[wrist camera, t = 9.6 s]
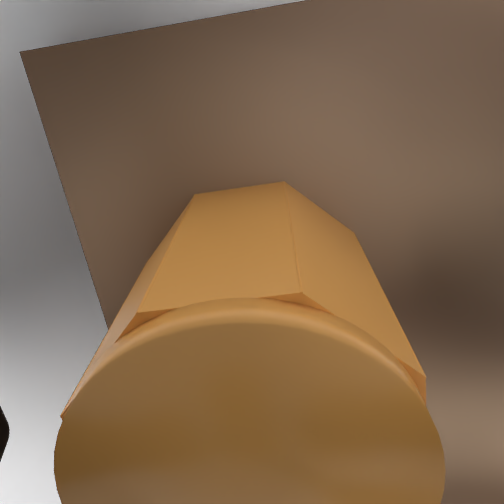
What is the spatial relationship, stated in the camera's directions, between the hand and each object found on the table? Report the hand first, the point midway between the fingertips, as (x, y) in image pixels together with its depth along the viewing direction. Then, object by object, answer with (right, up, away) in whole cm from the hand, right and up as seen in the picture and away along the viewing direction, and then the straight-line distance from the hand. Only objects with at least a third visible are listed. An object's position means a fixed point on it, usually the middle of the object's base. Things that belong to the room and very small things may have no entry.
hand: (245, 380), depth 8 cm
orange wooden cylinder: (0, +1, +4) cm, 4 cm away
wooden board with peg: (+3, 0, +6) cm, 6 cm away
